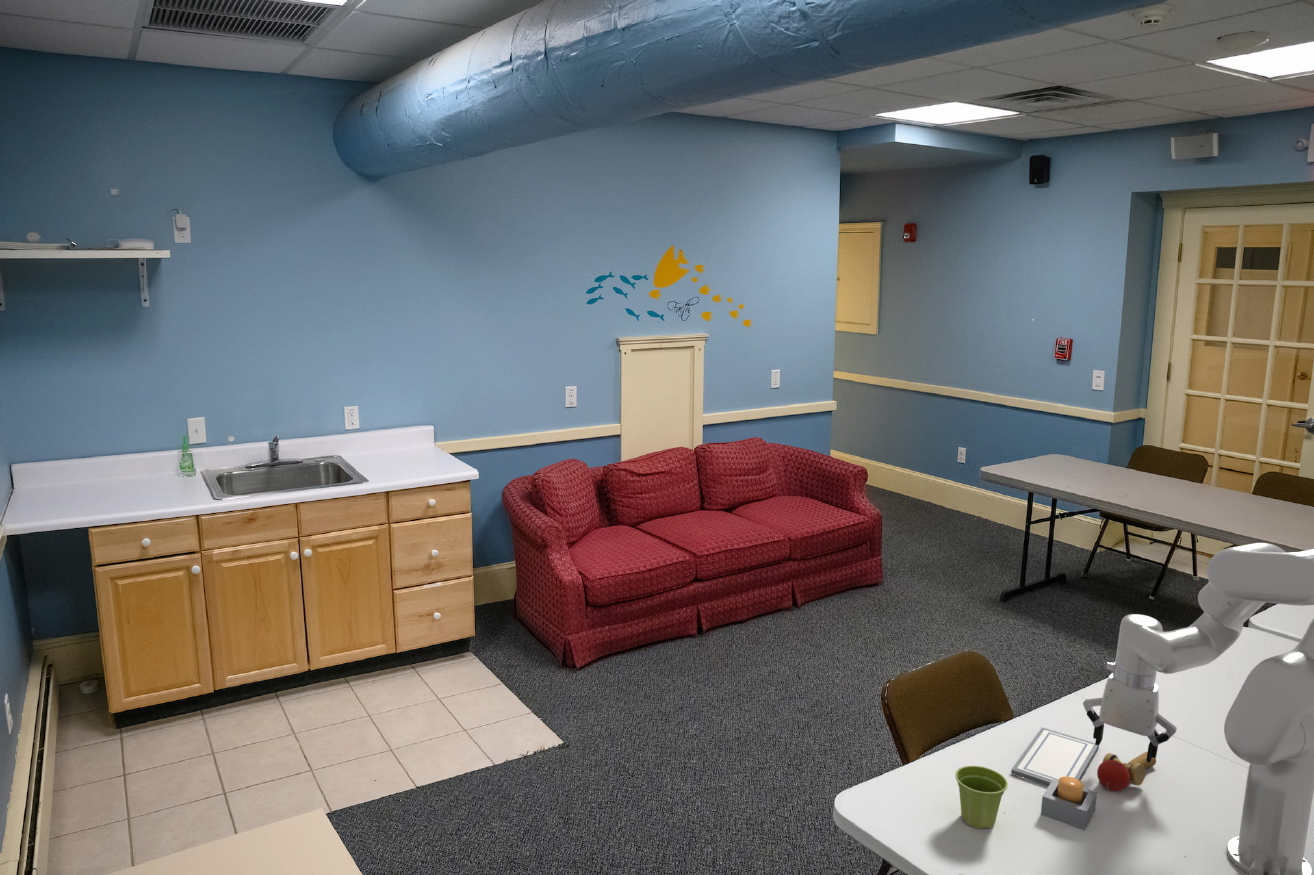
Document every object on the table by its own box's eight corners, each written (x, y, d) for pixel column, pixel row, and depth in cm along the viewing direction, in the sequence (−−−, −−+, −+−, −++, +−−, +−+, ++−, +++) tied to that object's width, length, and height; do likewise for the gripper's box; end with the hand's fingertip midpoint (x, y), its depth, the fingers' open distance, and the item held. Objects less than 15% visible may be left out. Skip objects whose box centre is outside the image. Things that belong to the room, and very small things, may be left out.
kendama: (1125, 761, 196) (1082, 778, 185) (1135, 736, 194) (1093, 752, 183) (1160, 783, 190) (1118, 802, 179) (1171, 758, 188) (1130, 775, 177)
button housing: (1085, 830, 169) (1087, 811, 169) (1040, 814, 174) (1042, 796, 174) (1095, 810, 176) (1097, 792, 175) (1052, 795, 180) (1054, 777, 180)
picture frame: (1072, 794, 181) (1072, 789, 181) (1011, 773, 188) (1011, 768, 188) (1098, 748, 198) (1099, 743, 198) (1041, 731, 205) (1042, 726, 205)
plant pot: (963, 799, 179) (966, 759, 178) (1011, 817, 173) (1014, 776, 172) (944, 821, 172) (947, 780, 171) (994, 841, 166) (997, 799, 165)
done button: (1078, 806, 171) (1080, 792, 171) (1054, 798, 174) (1055, 784, 173) (1084, 795, 175) (1086, 781, 174) (1060, 787, 177) (1062, 774, 177)
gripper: (1084, 669, 185) (1074, 743, 189) (1179, 696, 174) (1167, 774, 178) (1093, 656, 191) (1083, 729, 194) (1186, 681, 180) (1174, 758, 184)
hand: (1123, 750), depth 186 cm, fingers open, 9 cm apart
